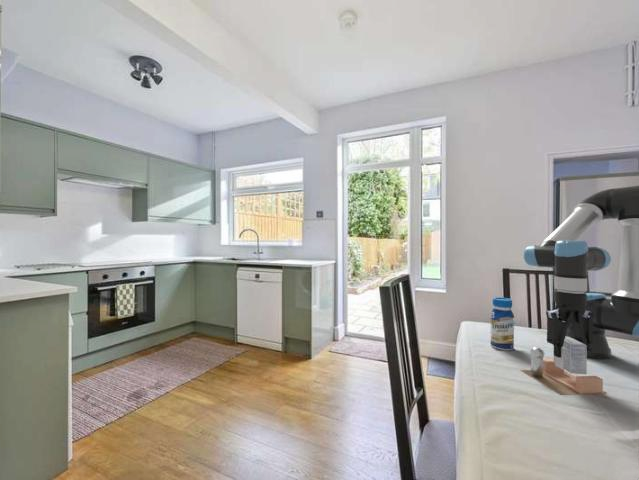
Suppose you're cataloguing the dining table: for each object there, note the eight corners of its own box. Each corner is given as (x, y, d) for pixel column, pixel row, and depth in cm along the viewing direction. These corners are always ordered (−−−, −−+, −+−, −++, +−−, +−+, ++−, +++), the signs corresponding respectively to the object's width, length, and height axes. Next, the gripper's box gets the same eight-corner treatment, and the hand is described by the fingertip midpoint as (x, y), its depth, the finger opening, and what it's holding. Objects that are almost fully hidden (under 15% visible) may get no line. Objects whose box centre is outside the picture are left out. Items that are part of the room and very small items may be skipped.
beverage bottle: (514, 346, 120) (514, 298, 120) (514, 352, 113) (515, 301, 113) (490, 342, 125) (490, 295, 125) (489, 348, 118) (490, 299, 118)
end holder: (559, 370, 95) (559, 358, 95) (604, 393, 81) (604, 379, 81) (539, 371, 95) (539, 359, 95) (580, 394, 81) (581, 379, 81)
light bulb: (537, 373, 94) (537, 345, 94) (547, 378, 90) (547, 349, 90) (527, 373, 93) (527, 345, 93) (536, 378, 90) (536, 349, 90)
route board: (559, 372, 96) (559, 369, 96) (607, 397, 81) (607, 393, 81) (519, 373, 96) (519, 370, 96) (560, 398, 81) (560, 394, 81)
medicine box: (587, 375, 84) (587, 345, 84) (569, 373, 85) (570, 343, 85) (568, 363, 92) (569, 336, 92) (552, 362, 92) (553, 335, 92)
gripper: (586, 289, 92) (585, 361, 92) (531, 289, 91) (531, 362, 91) (611, 293, 85) (610, 372, 85) (552, 293, 84) (551, 373, 84)
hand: (569, 367), depth 88 cm, fingers closed on medicine box, 5 cm apart
